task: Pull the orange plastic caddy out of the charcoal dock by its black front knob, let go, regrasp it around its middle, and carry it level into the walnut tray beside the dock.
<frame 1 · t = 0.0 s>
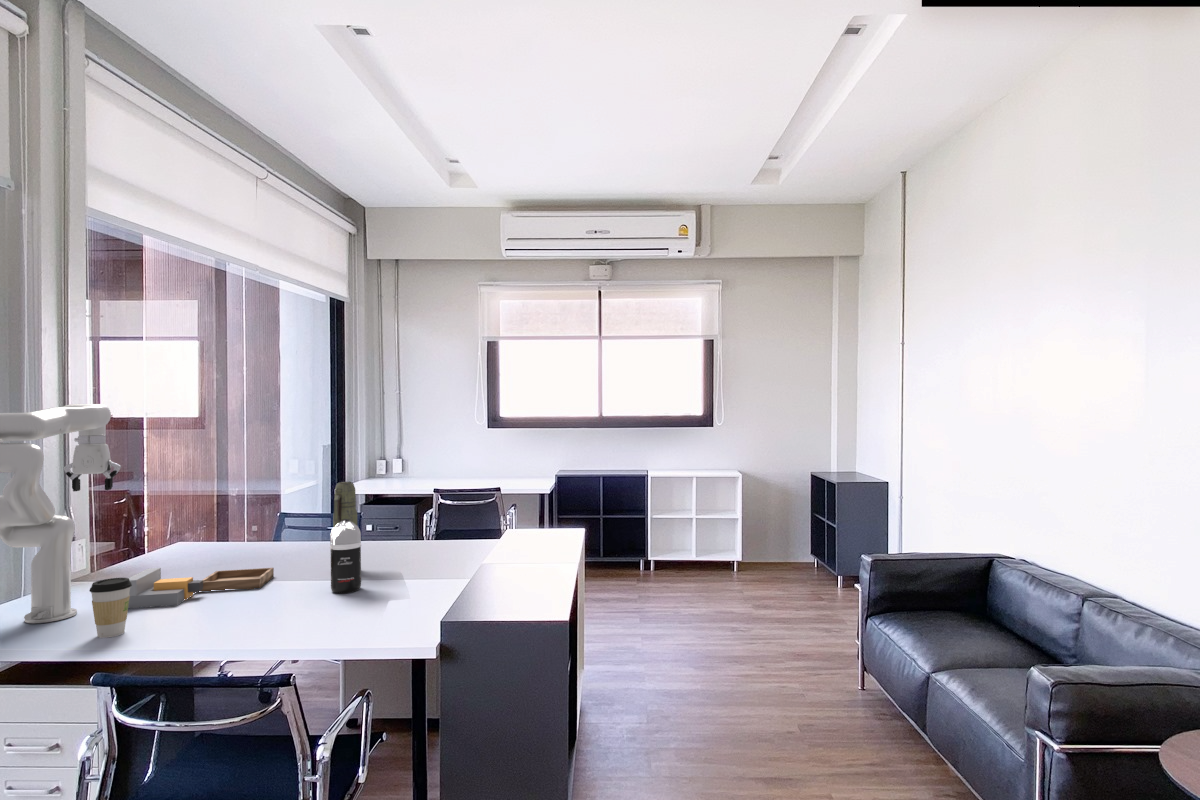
hand: (92, 490, 233), 37 cm above the table, tool pointing down, fingers open, 9 cm apart
spray bottle: (346, 591, 236), on the table
tray: (237, 584, 247), on the table
coffee cup: (111, 634, 192), on the table
caddy: (173, 599, 229), on the table
dock: (162, 599, 228), on the table
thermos: (345, 572, 264), on the table
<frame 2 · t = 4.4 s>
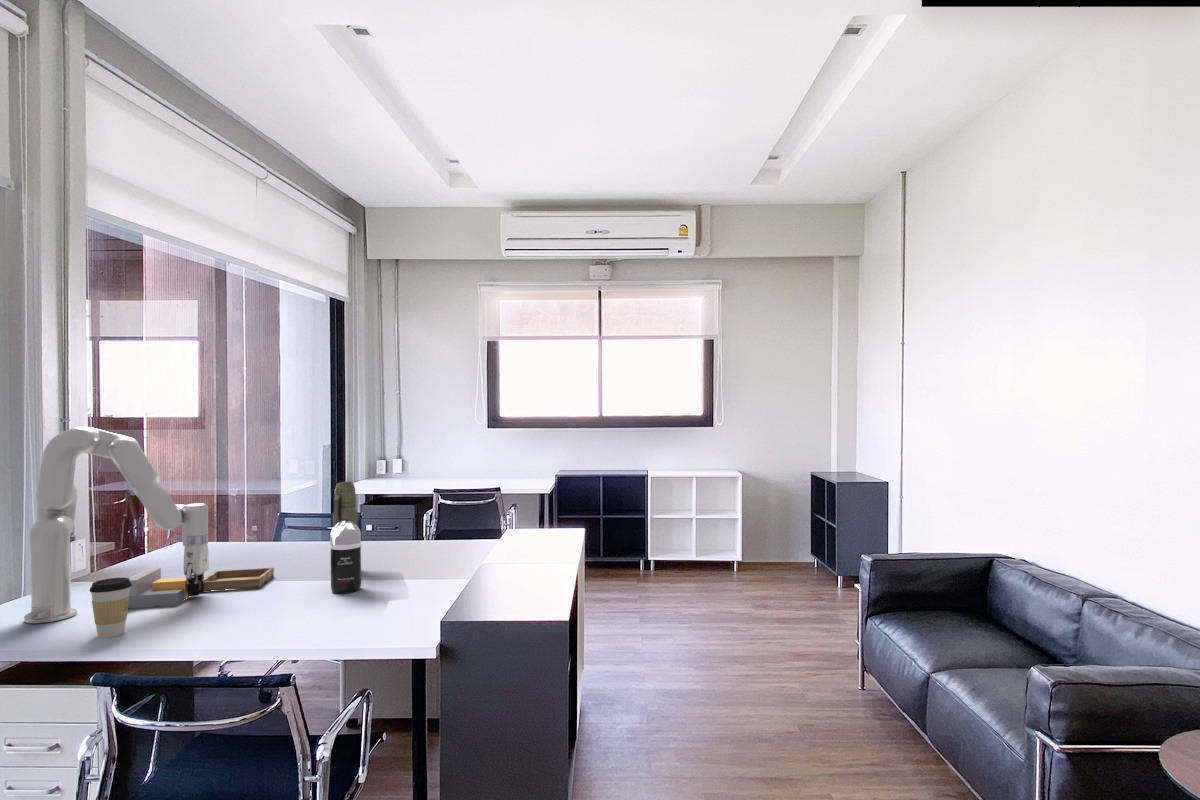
hand: (195, 593, 230), 1 cm above the table, tool pointing down, fingers closed on caddy, 3 cm apart
caddy: (172, 599, 228), on the table, touching gripper
everything else where it was.
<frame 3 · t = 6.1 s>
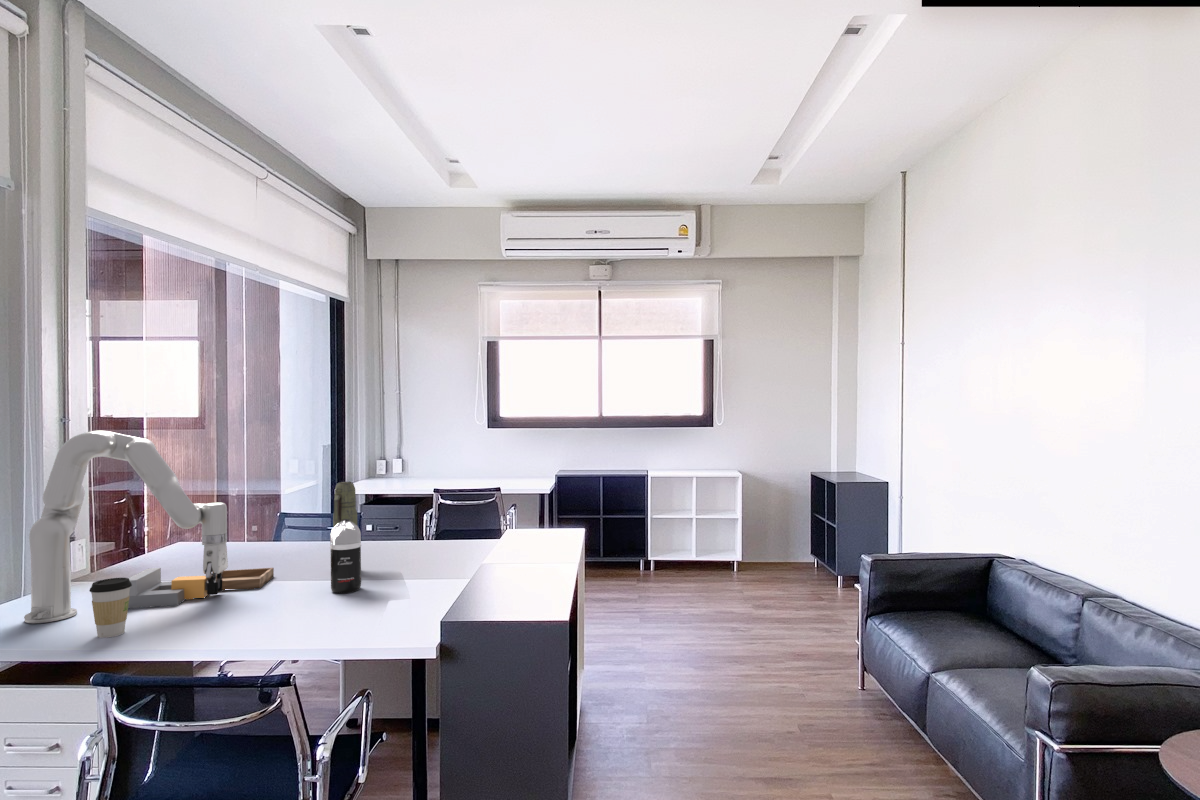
hand: (214, 592, 231), 1 cm above the table, tool pointing down, fingers closed on caddy, 3 cm apart
caddy: (190, 597, 230), on the table, touching gripper
everything else where it was.
when the fingers open (1 cm above the table, at t = 7.7 s): caddy stays where it is, on the table.
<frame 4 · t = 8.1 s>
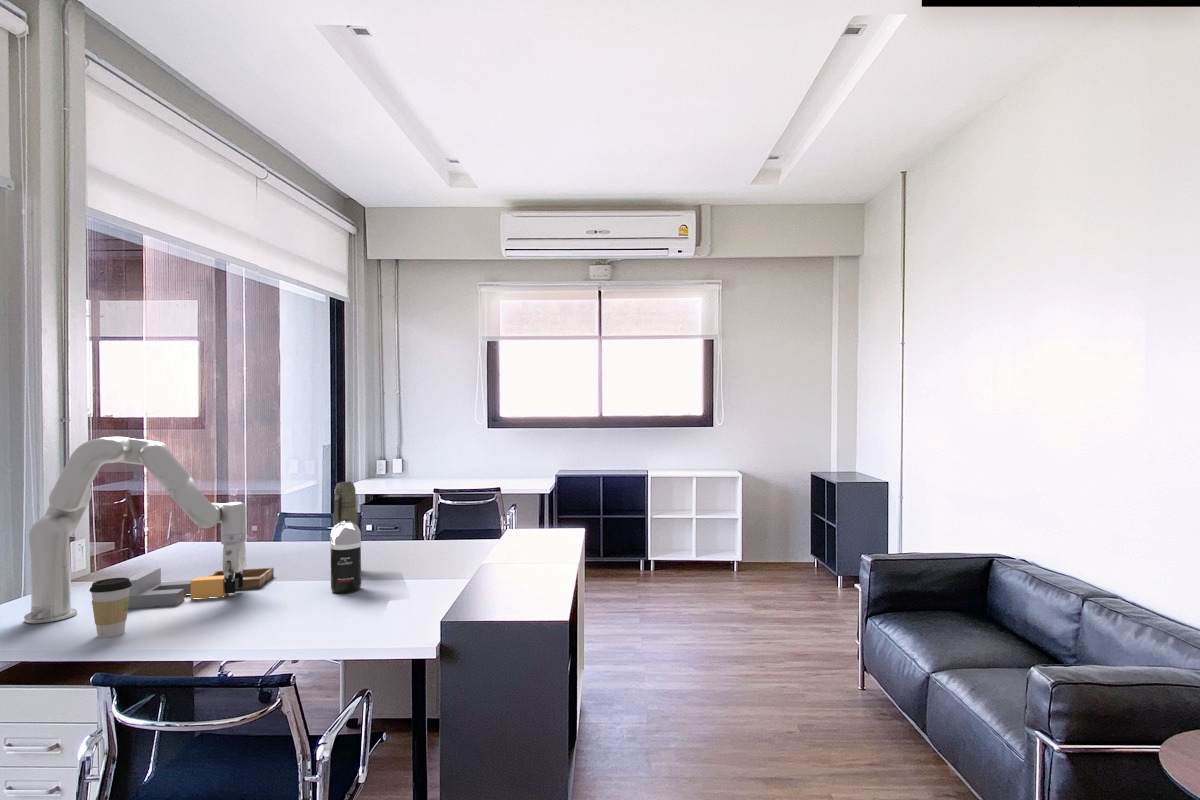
hand: (233, 589, 232), 2 cm above the table, tool pointing down, fingers open, 7 cm apart
caddy: (210, 597, 231), on the table
everything else where it was.
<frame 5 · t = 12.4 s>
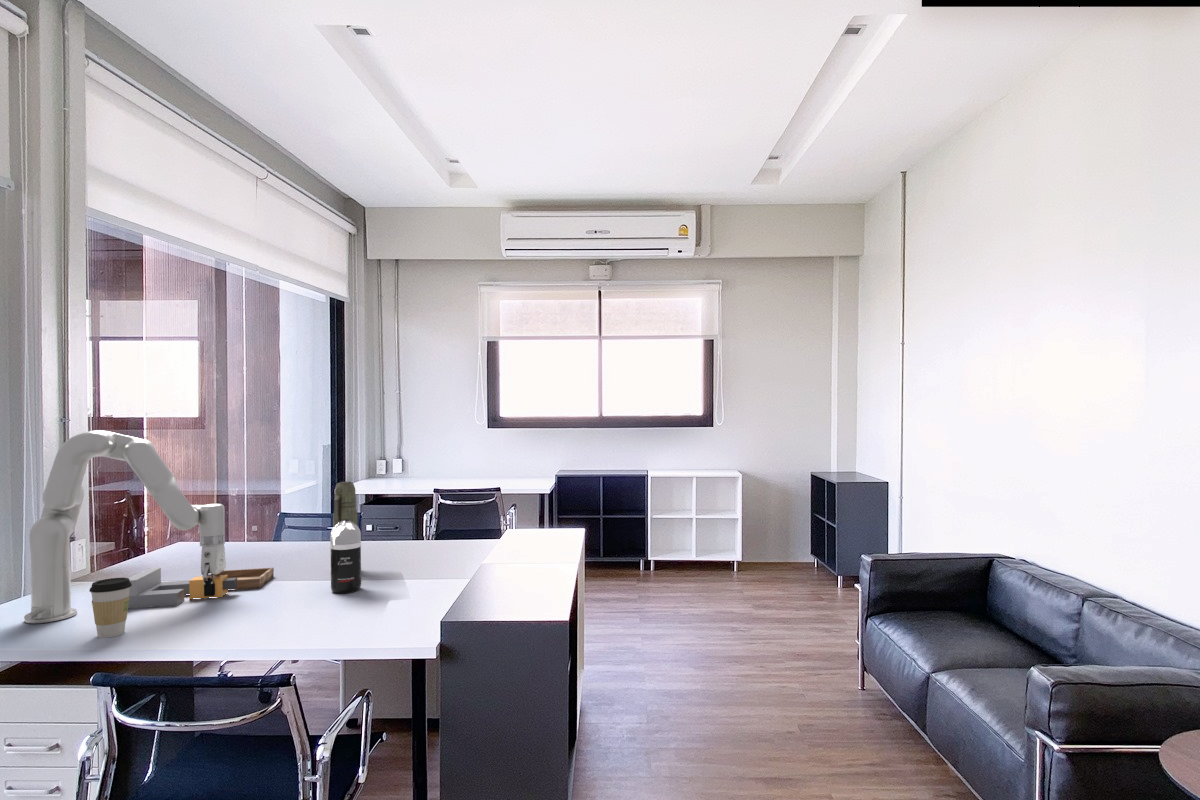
hand: (212, 592, 231), 1 cm above the table, tool pointing down, fingers closed on caddy, 5 cm apart
caddy: (208, 596, 231), on the table, touching gripper
everything else where it was.
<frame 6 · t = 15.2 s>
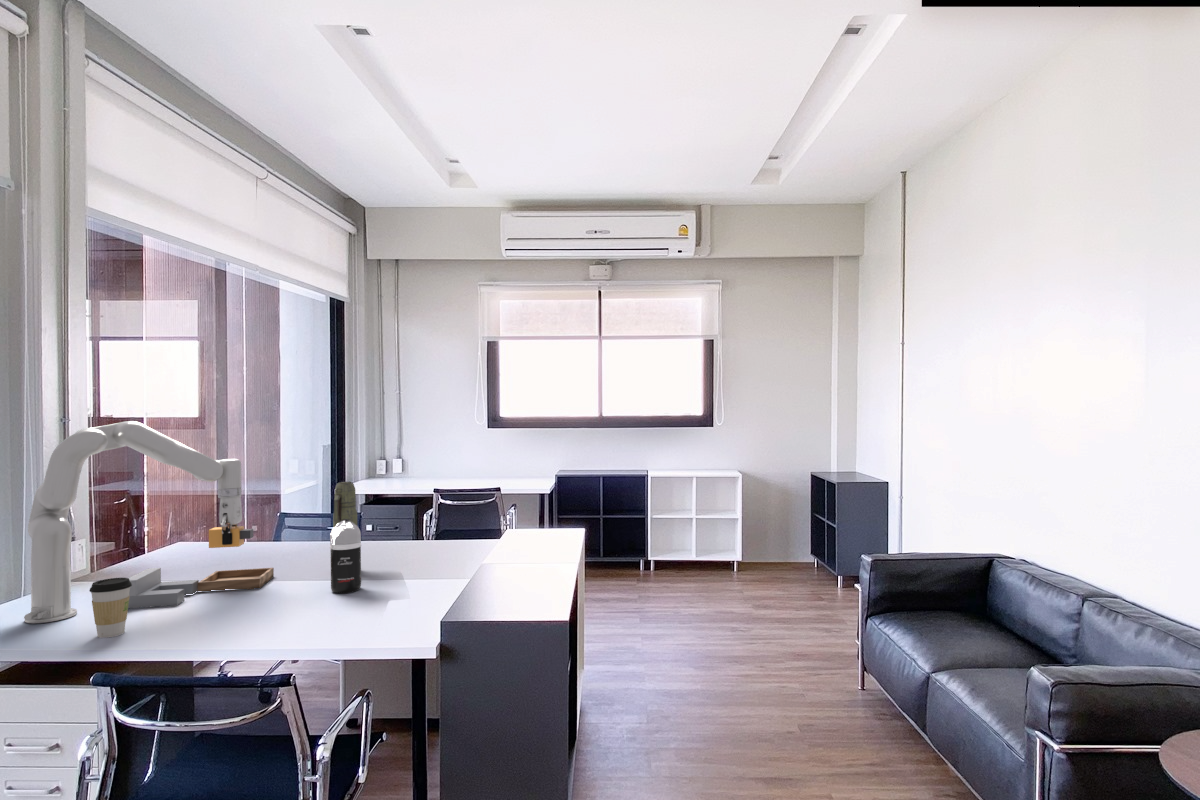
hand: (230, 542, 246), 16 cm above the table, tool pointing down, fingers closed on caddy, 5 cm apart
caddy: (226, 545, 245), point 14 cm above the table, touching gripper
everything else where it was.
when the fingers open (3 cm above the table, at t = 18.1 s): caddy drops 1 cm, resting on tray.
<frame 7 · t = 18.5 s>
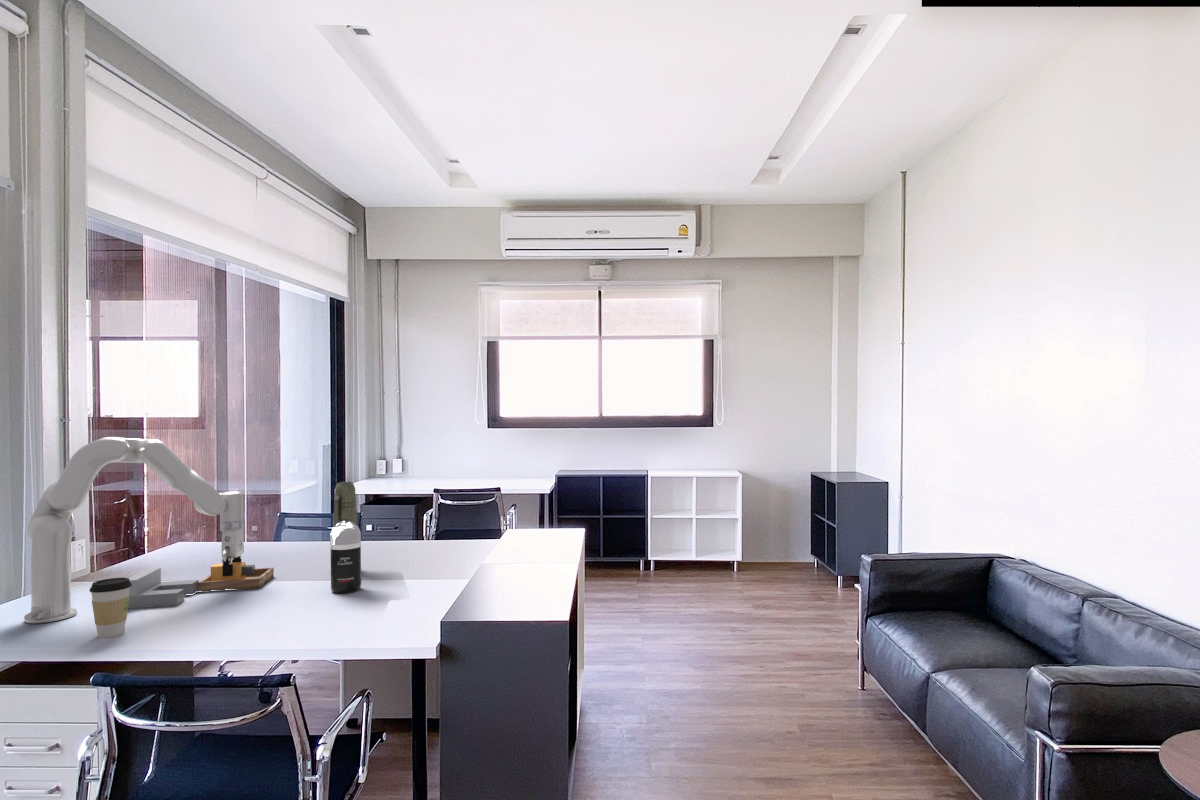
hand: (232, 572, 247), 4 cm above the table, tool pointing down, fingers open, 9 cm apart
caddy: (228, 582, 247), point 1 cm above the table, touching tray
everything else where it was.
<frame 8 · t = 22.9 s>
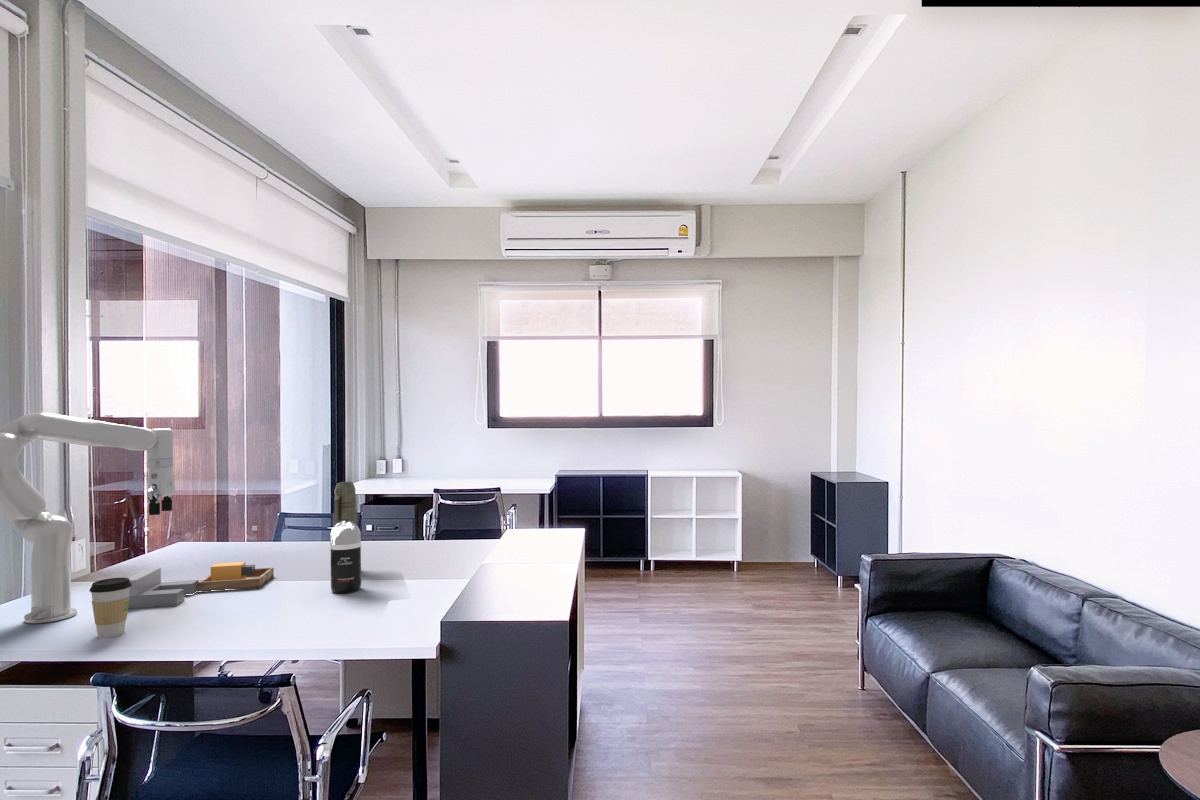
hand: (160, 512, 236), 28 cm above the table, tool pointing down, fingers open, 9 cm apart
nothing on the table moved.
at the end: caddy inside the target area on the tray (2.2 cm from its centre), point 1.0 cm above the tray's base; caddy tilted 0°; the gripper is holding nothing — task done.
